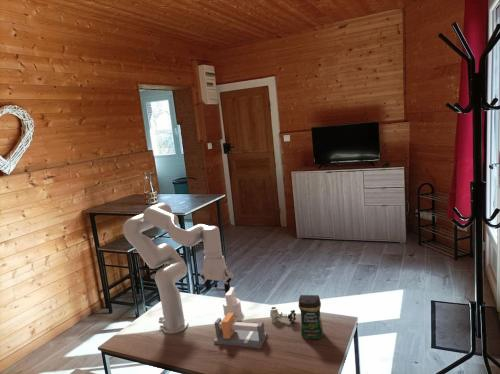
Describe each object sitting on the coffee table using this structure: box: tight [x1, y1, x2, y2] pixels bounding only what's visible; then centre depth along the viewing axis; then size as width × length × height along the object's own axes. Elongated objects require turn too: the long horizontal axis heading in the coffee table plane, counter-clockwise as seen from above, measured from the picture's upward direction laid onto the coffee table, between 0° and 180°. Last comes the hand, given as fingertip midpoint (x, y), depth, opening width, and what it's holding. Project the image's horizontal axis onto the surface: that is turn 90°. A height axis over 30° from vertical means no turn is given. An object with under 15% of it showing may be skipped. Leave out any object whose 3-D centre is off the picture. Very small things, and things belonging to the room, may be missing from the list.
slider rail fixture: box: [213, 317, 268, 349], centre depth 169 cm, size 22×10×8 cm, turn 70°
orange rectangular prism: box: [221, 312, 236, 339], centre depth 171 cm, size 3×8×8 cm, turn 160°
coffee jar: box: [298, 294, 324, 340], centre depth 165 cm, size 10×8×19 cm
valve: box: [269, 306, 297, 325], centre depth 180 cm, size 7×7×12 cm
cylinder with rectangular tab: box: [222, 286, 242, 318], centre depth 194 cm, size 9×9×12 cm
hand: (218, 290), depth 170 cm, fingers open, 9 cm apart
